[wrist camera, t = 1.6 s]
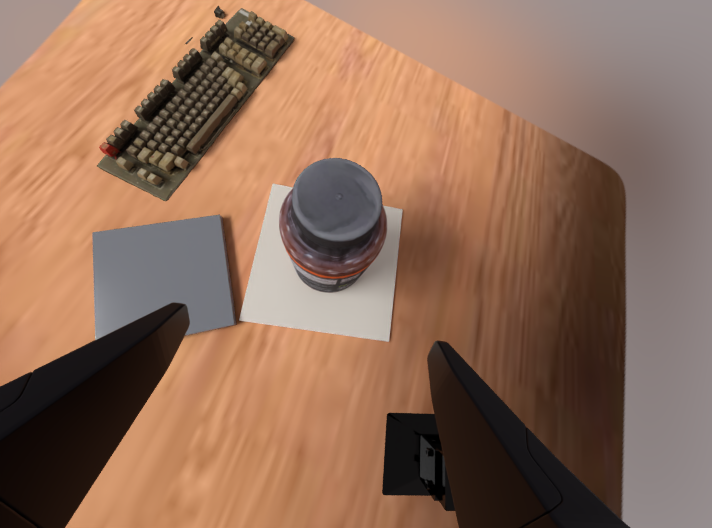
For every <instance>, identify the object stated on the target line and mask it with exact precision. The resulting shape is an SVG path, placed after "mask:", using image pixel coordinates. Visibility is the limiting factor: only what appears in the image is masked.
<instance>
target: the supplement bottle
mask: <svg viewBox="0 0 712 528" xmlns="http://www.w3.org/2000/svg"><path fill="white" fill-rule="evenodd" d="M279 230H280V235H281V238H282V242H283V244H284V246H285V249H286V251H287V253H288V255H289V258H290V260H291V262H292V264H293V266H294V269H295V271H296V273H297V274H298V276H299V278H300V279H301V280H302V281H303V282H304V283H305V284H306V285H307V286H309V287H310V288H312V289H314V290H317V291H320V292H326V293H333V292H338V291H342V290H344V289H346V288H348V287H349V286H351V285H352V284H354V283H355V282H356V281H357V280H358V278H359V277H360V276H361V275H362V274H363V273H364V272H365V271H366V269H367V268H368V267H369V266H370V265H371V263H372V262H373V261H374V260H375V259H376V257H377V256H378V254H379V253H380V251H381V249H382V247H383V245H384V242H385V239H386V234H387V216H386V212H385V209H384V206H383V204H382V195H381V191H380V188H379V185H378V183H377V182H376V180H375V179H374V177H373V176H372V175H371V174H370V173H369V172H368V171H367V170H366V169H365V168H363V167H362V166H361V165H358V164H357V163H355V162H352V161H349V160H346V159H341V158H329V159H323V160H320V161H317V162H315V163H313V164H311V165H310V166H308V167H307V168H306V169H304V170H303V172H302V173H301V174H300V175H299V177H298V178H297V180H296V182H295V184H294V187H293V189H292V190H291V191H290V192H289V193H288V194H287V196H286V198H285V199H284V202H283V203H282V206H281V210H280V215H279Z"/></svg>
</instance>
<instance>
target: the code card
mask: <svg viewBox="0 0 712 528" xmlns="http://www.w3.org/2000/svg"><path fill="white" fill-rule="evenodd" d="M292 189H293V187H288V186H283V185H278V184H273V185H272V189H271V193H270V197H269V201H268V205H267V209H266V213H265V217H264V221H263V225H262V229H261V233H260V237H259V241H258V245H257V249H256V254H255V258H254V262H253V266H252V270H251V274H250V278H249V282H248V286H247V290H246V294H245V298H244V302H243V306H242V310H241V314H240V318H239V321H246V322H253V323H260V324H267V325H274V326H281V327H289V328H296V329H303V330H310V331H317V332H324V333H331V334H338V335H345V336H352V337H359V338H367V339H374V340H381V341H388V342H389V337H390V327H391V318H392V308H393V298H394V288H395V279H396V269H397V259H398V249H399V240H400V230H401V220H402V210H403V209H398V208H393V207H388V206H384V209H385V212H386V216H387V234H386V239H385V242H384V245H383V247H382V249H381V251H380V253H379V254H378V256H377V257H376V259H375V260H374V261H373V262H372V263H371V265H370V266H369V267H368V268H367V269H366V271H365V272H364V273H363V274H362V275H361V276H360V277H359V278H358V280H357V281H356V282H355V283H354V284H352V285H351V286H349V287H348V288H346V289H344V290H342V291H338V292H333V293H326V292H320V291H317V290H314V289H312V288H310V287H309V286H307V285H306V284H305V283H304V282H303V281H302V280H301V279H300V278H299V276H298V274H297V273H296V271H295V269H294V266H293V264H292V262H291V260H290V258H289V255H288V253H287V251H286V249H285V246H284V244H283V242H282V238H281V235H280V230H279V215H280V210H281V206H282V203H283V202H284V199H285V198H286V196H287V194H288V193H289V192H290V191H291V190H292Z"/></svg>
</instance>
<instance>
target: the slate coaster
mask: <svg viewBox="0 0 712 528" xmlns="http://www.w3.org/2000/svg"><path fill="white" fill-rule="evenodd" d="M93 269H94V305H95V340H97V339H99V338H101V337H103V336H105V335H107V334H109V333H111V332H113V331H115V330H117V329H119V328H121V327H123V326H125V325H127V324H129V323H131V322H133V321H135V320H137V319H139V318H141V317H143V316H145V315H147V314H149V313H152V312H154V311H156V310H158V309H160V308H162V307H164V306H166V305H168V304H170V303H173V302H176V303H183V304H186V305H187V307H188V313H189V318H190V325H189V328H188V330H187V332H186V334H185V336H187V335H192V334H196V333H201V332H205V331H210V330H214V329H219V328H224V327H228V326H233V325H237V324H236V317H235V309H234V302H233V294H232V287H231V279H230V272H229V264H228V256H227V249H226V241H225V234H224V226H223V219H222V217H221V216H220V215H214V216H207V217H200V218H192V219H185V220H178V221H171V222H164V223H157V224H150V225H143V226H136V227H128V228H121V229H114V230H107V231H100V232H93Z"/></svg>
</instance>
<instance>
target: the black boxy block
mask: <svg viewBox="0 0 712 528" xmlns="http://www.w3.org/2000/svg"><path fill="white" fill-rule="evenodd" d="M382 493H383V495H424V496H432V498H433V499H434V501H439V502H440V503H441V504H442V506H443V507H444V509H445V510H446V511H455V507H454V502H453V497H452V493H451V488H450V483H449V479H448V474H447V469H446V465H445V460H444V455H443V451H442V446H441V441H440V437H439V432H438V427H437V423H436V418H435V414H413V413H388V414H387V423H386V439H385V456H384V473H383V490H382Z"/></svg>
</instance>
